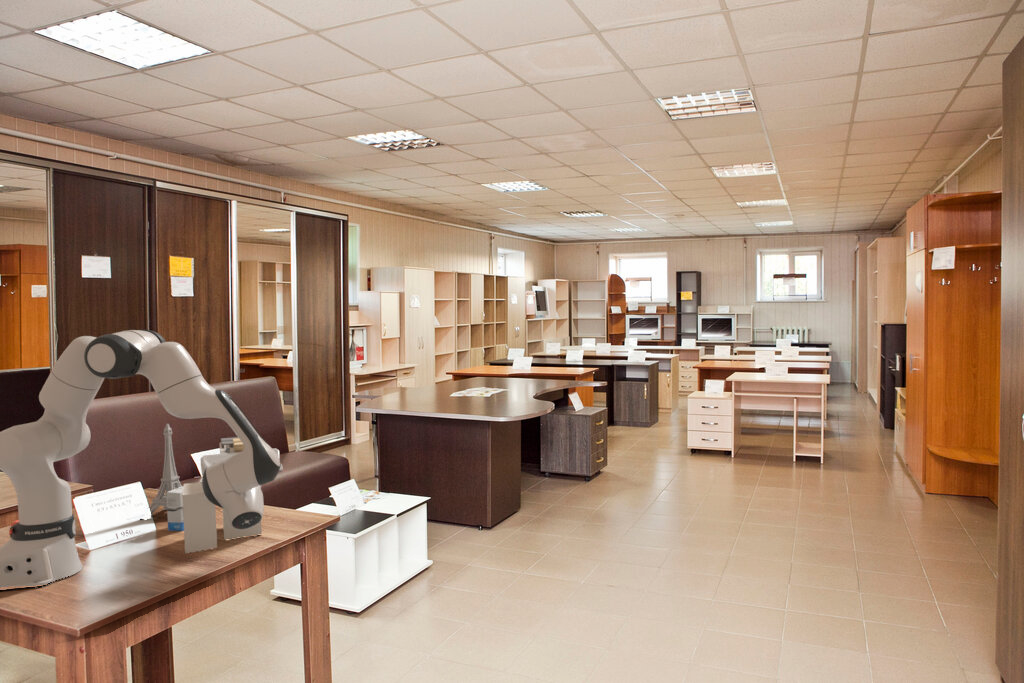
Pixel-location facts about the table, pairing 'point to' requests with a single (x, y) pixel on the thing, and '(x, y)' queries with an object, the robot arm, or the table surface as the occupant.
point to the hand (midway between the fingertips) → (239, 445)
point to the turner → (233, 443)
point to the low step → (198, 519)
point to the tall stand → (233, 532)
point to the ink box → (175, 509)
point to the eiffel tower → (166, 474)
